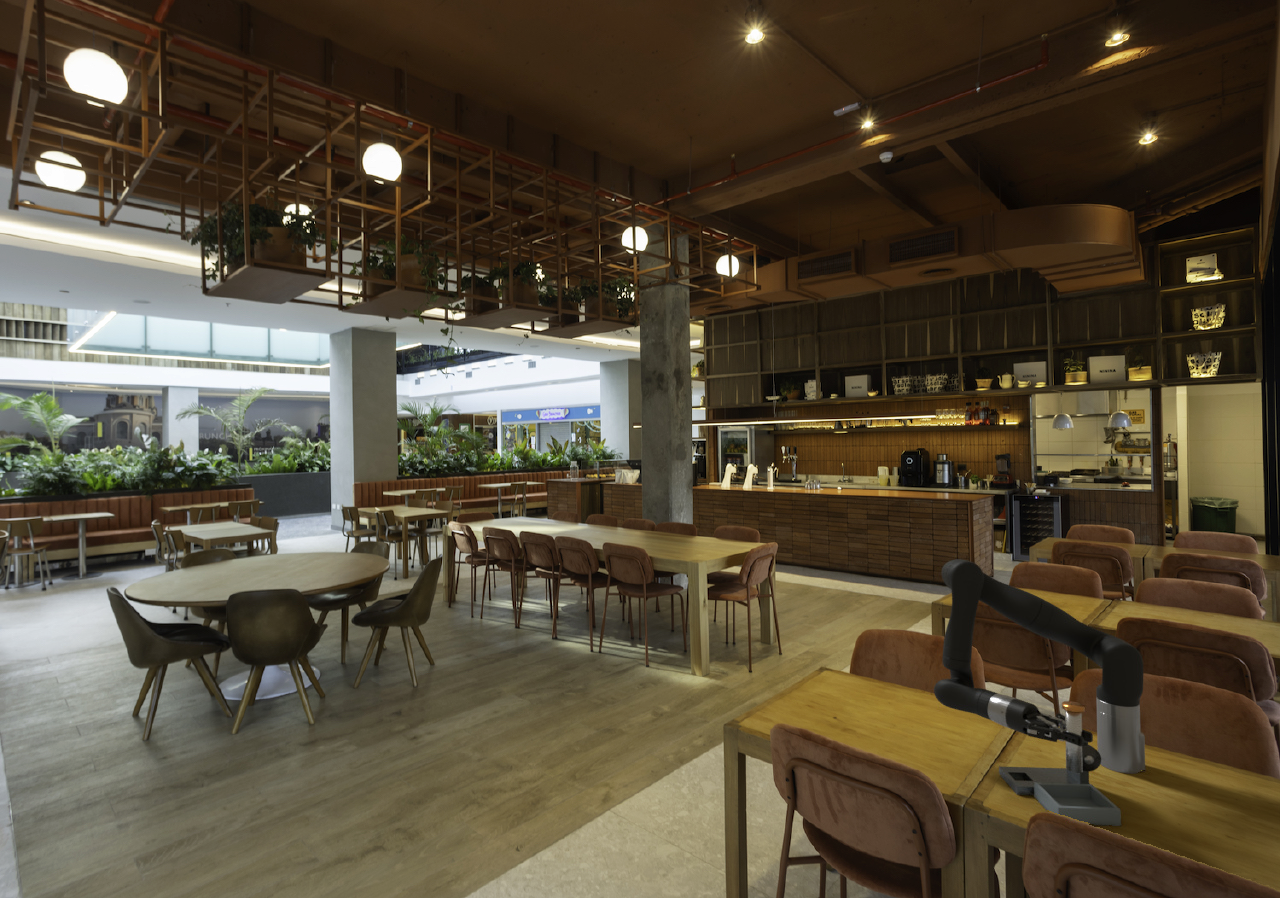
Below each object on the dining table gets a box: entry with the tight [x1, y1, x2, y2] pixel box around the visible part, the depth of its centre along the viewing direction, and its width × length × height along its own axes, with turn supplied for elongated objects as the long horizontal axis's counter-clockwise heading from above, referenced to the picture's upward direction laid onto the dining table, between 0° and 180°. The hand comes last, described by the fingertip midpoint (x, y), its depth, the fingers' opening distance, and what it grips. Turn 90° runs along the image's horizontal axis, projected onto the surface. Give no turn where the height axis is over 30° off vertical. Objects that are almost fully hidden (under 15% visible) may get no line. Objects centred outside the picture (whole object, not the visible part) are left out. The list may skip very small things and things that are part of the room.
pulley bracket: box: [998, 741, 1101, 796], centre depth 162 cm, size 20×10×13 cm, turn 84°
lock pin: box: [1061, 700, 1086, 773], centre depth 151 cm, size 4×4×15 cm
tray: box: [1033, 783, 1122, 827], centre depth 151 cm, size 13×11×4 cm
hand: (1087, 739), depth 148 cm, fingers closed on lock pin, 3 cm apart
